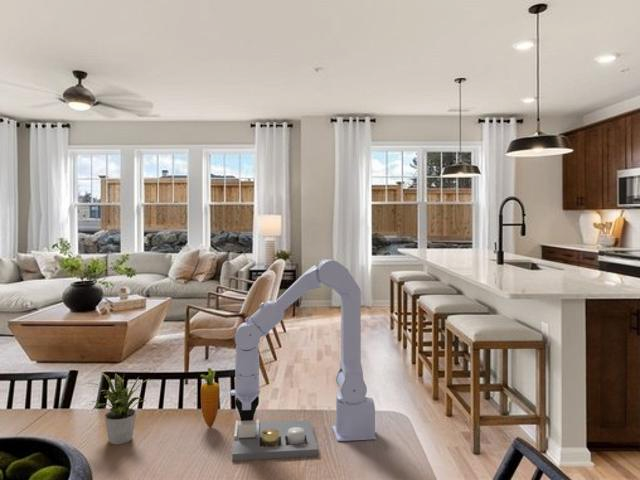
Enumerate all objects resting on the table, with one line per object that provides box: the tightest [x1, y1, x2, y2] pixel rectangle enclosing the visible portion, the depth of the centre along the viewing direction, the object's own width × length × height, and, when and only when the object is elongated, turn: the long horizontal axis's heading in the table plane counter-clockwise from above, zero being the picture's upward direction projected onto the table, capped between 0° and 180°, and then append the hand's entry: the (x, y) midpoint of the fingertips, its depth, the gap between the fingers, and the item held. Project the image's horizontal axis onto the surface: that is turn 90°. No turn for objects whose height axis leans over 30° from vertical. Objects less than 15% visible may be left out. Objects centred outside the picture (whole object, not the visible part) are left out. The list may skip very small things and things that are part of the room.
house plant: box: [86, 372, 150, 445], centre depth 112 cm, size 14×14×16 cm
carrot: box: [200, 367, 220, 428], centre depth 119 cm, size 5×5×15 cm
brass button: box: [261, 429, 280, 447], centre depth 109 cm, size 4×4×2 cm
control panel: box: [231, 419, 319, 462], centre depth 112 cm, size 19×16×2 cm
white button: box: [287, 427, 306, 446], centre depth 109 cm, size 4×4×2 cm
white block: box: [238, 419, 256, 438], centre depth 111 cm, size 4×2×3 cm, turn 98°
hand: (247, 428), depth 114 cm, fingers closed
